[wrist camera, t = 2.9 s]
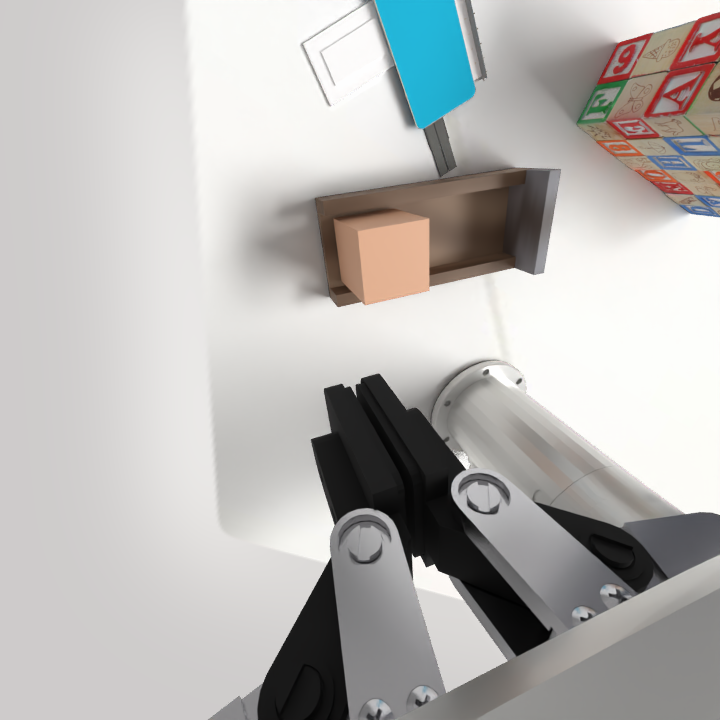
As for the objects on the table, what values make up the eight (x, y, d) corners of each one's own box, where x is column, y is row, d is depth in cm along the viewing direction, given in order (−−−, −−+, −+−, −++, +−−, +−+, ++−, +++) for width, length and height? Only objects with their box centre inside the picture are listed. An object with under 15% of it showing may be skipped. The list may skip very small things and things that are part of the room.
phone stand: (216, -141, 19) (215, -164, 17) (407, -259, 19) (421, -292, 18) (377, 214, 30) (384, 217, 29) (496, 137, 30) (509, 136, 29)
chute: (506, 259, 35) (543, 272, 31) (330, 297, 31) (346, 318, 27) (516, 167, 31) (560, 169, 27) (315, 197, 27) (331, 204, 23)
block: (396, 269, 31) (429, 290, 26) (341, 280, 30) (365, 305, 25) (393, 208, 29) (429, 218, 24) (333, 218, 28) (357, 231, 23)
